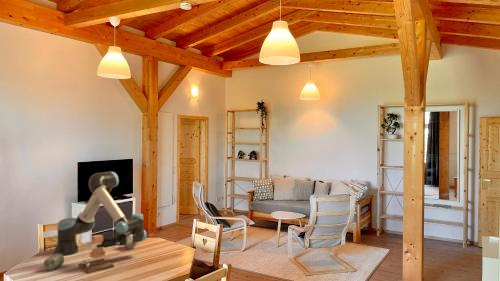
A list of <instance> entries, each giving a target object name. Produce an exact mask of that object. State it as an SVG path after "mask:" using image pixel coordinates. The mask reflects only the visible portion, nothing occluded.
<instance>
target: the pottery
mask: <svg viewBox="0 0 500 281" xmlns="http://www.w3.org/2000/svg"><path fill="white" fill-rule="evenodd" d="M138 243H139V242H135V243H130V244H129V245H128V244H125V245H123V246H124V247H125V249H126V250H128V249H131V250H134V249H135V247H136V245H137V244H138Z"/></svg>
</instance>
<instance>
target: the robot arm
mask: <svg viewBox="0 0 500 281" xmlns="http://www.w3.org/2000/svg"><path fill="white" fill-rule="evenodd" d="M119 183H120V180H119V176H118V174H117V173H116V172H115V171H104V172H95V173H94V174H92V175H91V176H90V178H89V180H88V188H89V189H90V190H89V191H90V192H91V193H92V195H91V196H90V198H89V200H88V202H87V204H86V205H85V206H84V209H83V210H82V212H79V213H78V216H77V217H76V218H75V217H68V218H63V219H60V220H59V221H58V222H57V243H56V245H55V249H54V254H57V253H60V254H62V255H63V256H71V255H74V254H76V253H78V252H79V246H78V243H77V239H76V238H77V235H81V234H85V233H89V232H90V231H91V230H93V229H94V227H95V224H96V223H95V222H96V221H95V215H96V213H97V212H98V210H99V208H100V207H101V205H102V207H103V208H104V209H105V211H106V212H107V213H108V215H109V216H110V217H111V219H112V220H113V222H114V223H115V231H116V233H118V234H117V236H115V237H112V236H109V237H105V238H104V237H103V242H102V243H98V244H93V245H92V241H91V242H90V241H89V242H87V245H86V246H87V248H90V250H92V249H96V248H100V247H103V249H106V248H109V247H111V248H112V247H115V246H121V247H122V246H124V245H125V244H128V245H129V244H130V243H135V242H138V243H141V242H143V241H146V240H147V237H148V234H147V231H146V229H144V221H145V220H144V214H143V213H132V215H131V218H127V216H126V215H125V214H124V213H123V211H122V209H121V208H120V207H119V205H118V204H117V202H116V201H115V200H114V199H113V197H112V195H111V194H110V193H111V192H112V190H113V188H116V187H117V186H118V185H119Z"/></svg>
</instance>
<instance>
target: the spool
mask: <svg viewBox="0 0 500 281" xmlns="http://www.w3.org/2000/svg"><path fill="white" fill-rule="evenodd" d="M64 262H65V257H64V255H62V254H60V253H57V254H55V253H54V254H51V255H50V256H48V257H47V258H46V259H45V260H44V262H43V266H44V268H45V269H46V270H48V271H53V270H55V269H56V268H57V267H59V266H61V265H63V264H64Z"/></svg>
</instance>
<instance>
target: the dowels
mask: <svg viewBox="0 0 500 281" xmlns="http://www.w3.org/2000/svg"><path fill="white" fill-rule="evenodd" d="M86 262H87V261H86V260H82V261H81V263H82V266H86V269H89V268H90V263H86Z"/></svg>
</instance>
